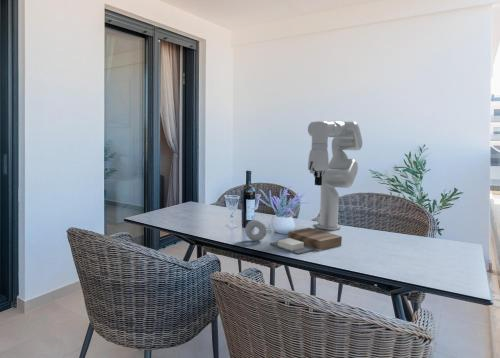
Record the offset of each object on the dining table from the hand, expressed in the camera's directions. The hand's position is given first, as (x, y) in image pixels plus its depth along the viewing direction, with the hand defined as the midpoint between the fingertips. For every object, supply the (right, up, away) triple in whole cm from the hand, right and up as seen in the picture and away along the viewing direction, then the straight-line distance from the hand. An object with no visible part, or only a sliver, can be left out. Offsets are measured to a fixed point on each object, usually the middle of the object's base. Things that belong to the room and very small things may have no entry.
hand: (318, 185), depth 183 cm
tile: (-15, -25, -19) cm, 36 cm away
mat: (-14, -27, -18) cm, 35 cm away
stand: (-4, -26, -10) cm, 28 cm away
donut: (-31, -26, -9) cm, 41 cm away
